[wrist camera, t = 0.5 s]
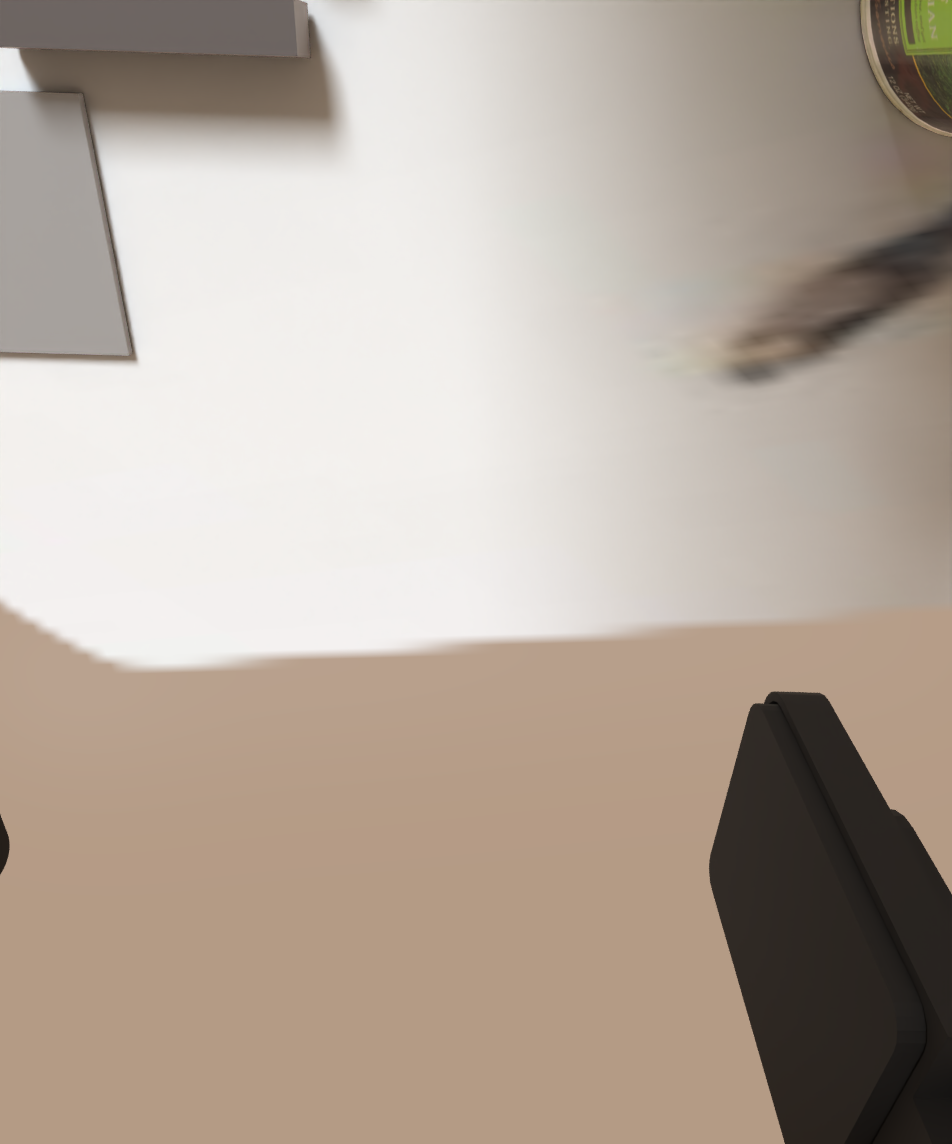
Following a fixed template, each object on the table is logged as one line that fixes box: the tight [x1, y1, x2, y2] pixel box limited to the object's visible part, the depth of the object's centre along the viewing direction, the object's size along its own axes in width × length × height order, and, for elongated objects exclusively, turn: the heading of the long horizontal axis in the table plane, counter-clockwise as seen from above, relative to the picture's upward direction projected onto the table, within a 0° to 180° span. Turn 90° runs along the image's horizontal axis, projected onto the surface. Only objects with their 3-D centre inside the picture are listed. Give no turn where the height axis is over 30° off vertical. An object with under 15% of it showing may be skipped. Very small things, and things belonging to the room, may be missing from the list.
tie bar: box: [0, 0, 311, 58], centre depth 26 cm, size 2×10×2 cm, turn 88°
